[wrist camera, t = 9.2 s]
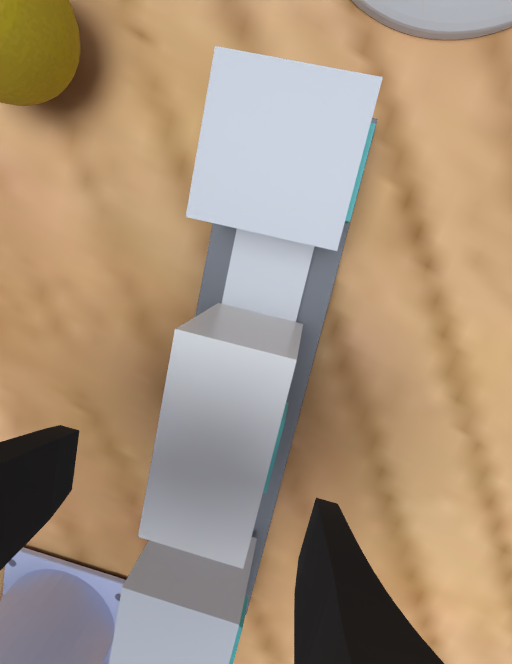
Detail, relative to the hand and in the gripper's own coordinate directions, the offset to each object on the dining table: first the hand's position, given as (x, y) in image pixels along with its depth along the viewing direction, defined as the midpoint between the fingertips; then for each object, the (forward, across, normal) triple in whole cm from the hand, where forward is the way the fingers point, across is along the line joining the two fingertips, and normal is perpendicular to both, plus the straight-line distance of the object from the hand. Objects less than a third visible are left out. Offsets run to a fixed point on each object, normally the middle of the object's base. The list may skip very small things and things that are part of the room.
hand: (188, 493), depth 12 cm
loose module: (+8, 0, 0) cm, 8 cm away
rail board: (+10, 0, 0) cm, 10 cm away
